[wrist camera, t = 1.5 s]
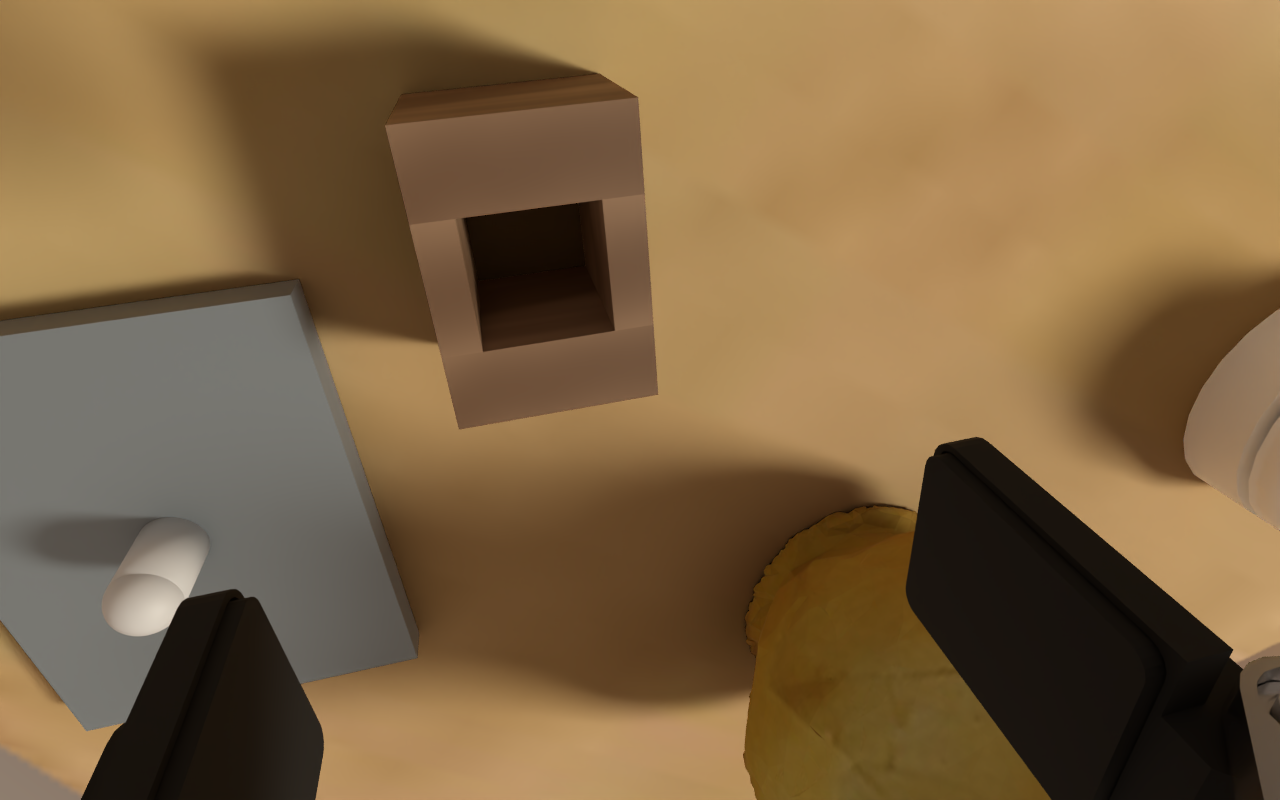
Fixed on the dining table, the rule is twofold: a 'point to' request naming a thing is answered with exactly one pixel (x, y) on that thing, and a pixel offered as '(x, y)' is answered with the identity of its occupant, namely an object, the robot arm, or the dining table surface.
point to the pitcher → (862, 680)
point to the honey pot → (1241, 424)
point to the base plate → (184, 491)
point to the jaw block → (544, 301)
